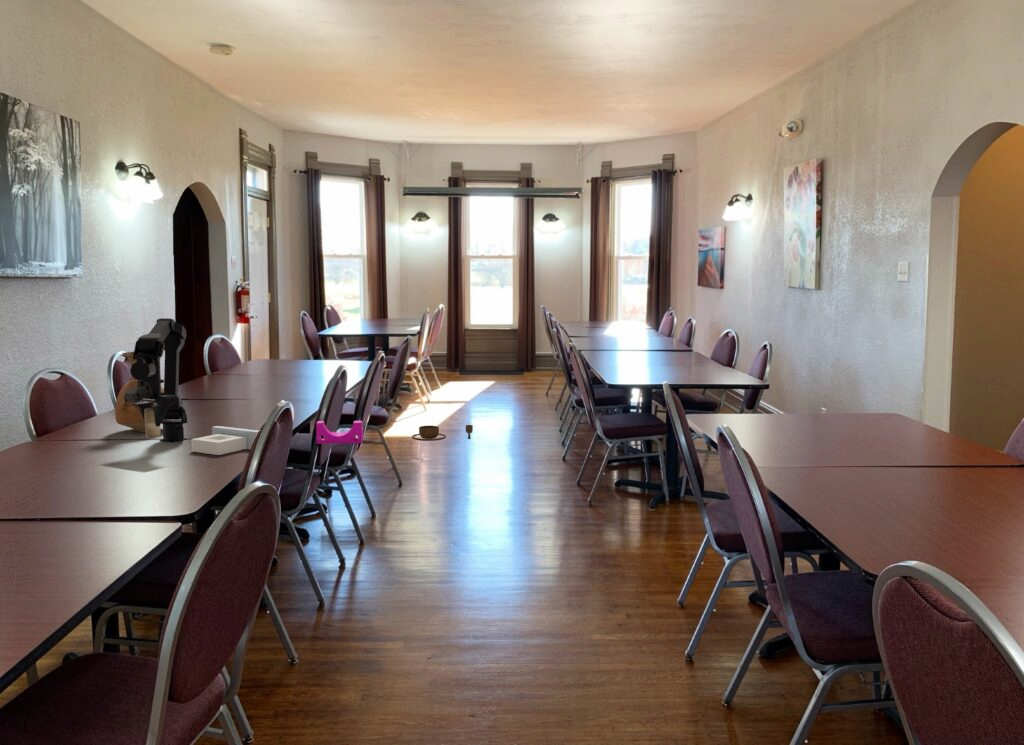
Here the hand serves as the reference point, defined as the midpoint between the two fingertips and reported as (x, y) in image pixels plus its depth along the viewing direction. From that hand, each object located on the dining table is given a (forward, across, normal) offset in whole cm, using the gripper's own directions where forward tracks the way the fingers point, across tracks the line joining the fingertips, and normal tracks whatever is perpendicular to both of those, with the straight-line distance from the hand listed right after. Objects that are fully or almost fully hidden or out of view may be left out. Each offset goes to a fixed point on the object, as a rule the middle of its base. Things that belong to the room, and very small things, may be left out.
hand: (152, 425), depth 276 cm
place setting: (+10, +65, +65) cm, 92 cm away
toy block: (+10, +38, +45) cm, 60 cm away
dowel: (+4, 0, 0) cm, 4 cm away
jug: (+9, -34, +24) cm, 43 cm away
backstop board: (+9, +14, +22) cm, 27 cm away
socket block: (+9, +14, +14) cm, 22 cm away
